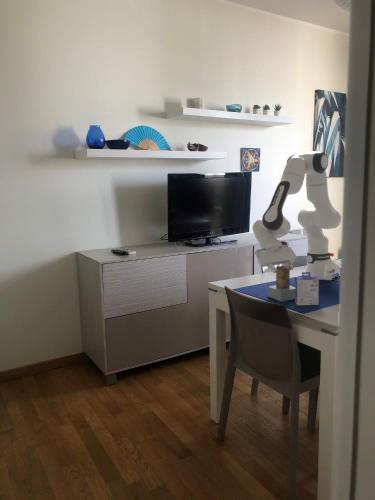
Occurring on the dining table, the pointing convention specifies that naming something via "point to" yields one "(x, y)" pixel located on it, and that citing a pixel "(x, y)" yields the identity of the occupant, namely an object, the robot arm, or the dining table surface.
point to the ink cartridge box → (306, 290)
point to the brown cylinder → (283, 277)
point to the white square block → (281, 293)
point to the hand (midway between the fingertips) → (283, 270)
